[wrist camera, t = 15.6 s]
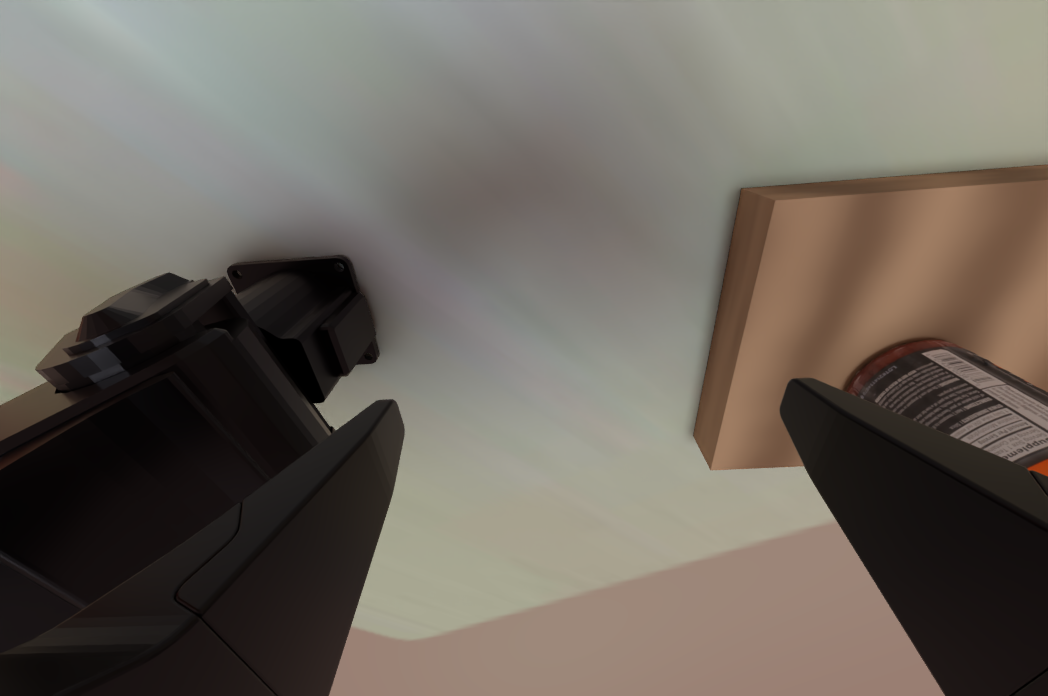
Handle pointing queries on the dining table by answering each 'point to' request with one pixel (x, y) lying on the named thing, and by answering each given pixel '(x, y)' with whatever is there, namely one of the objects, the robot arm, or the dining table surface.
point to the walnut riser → (869, 291)
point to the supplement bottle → (961, 399)
